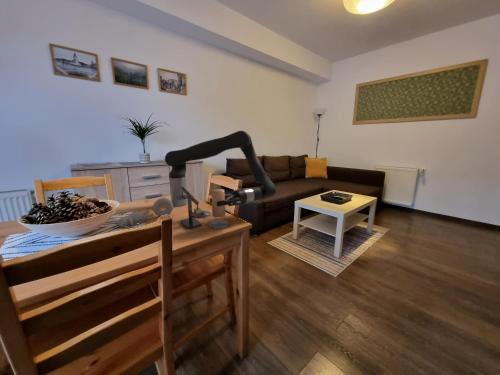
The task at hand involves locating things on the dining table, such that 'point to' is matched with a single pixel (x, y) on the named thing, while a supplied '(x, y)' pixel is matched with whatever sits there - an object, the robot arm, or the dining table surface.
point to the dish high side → (207, 213)
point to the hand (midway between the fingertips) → (213, 202)
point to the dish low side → (218, 224)
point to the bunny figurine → (133, 218)
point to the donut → (160, 202)
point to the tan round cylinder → (217, 196)
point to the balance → (197, 212)
